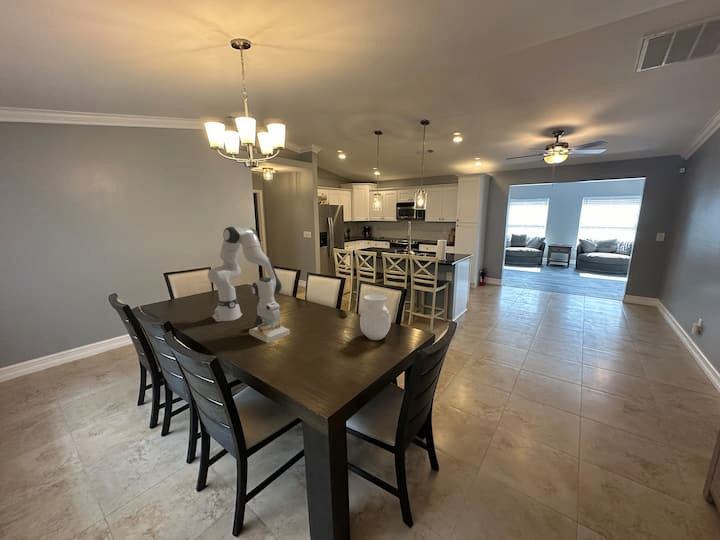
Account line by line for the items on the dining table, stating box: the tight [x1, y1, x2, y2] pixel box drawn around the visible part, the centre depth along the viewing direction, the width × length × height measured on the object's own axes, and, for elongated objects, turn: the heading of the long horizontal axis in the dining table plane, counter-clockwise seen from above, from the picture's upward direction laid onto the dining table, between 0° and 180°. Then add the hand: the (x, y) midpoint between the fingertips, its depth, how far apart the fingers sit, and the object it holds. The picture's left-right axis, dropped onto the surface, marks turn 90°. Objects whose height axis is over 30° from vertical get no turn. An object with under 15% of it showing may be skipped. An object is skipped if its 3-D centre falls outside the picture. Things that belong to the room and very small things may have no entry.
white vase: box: [359, 293, 392, 341], centre depth 169 cm, size 19×18×25 cm
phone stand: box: [253, 313, 263, 328], centre depth 189 cm, size 9×6×12 cm, turn 136°
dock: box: [248, 325, 291, 344], centre depth 177 cm, size 20×16×3 cm
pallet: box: [257, 320, 281, 334], centre depth 177 cm, size 6×12×4 cm, turn 140°
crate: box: [264, 318, 272, 325], centre depth 176 cm, size 4×4×4 cm
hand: (269, 325), depth 177 cm, fingers open, 8 cm apart
